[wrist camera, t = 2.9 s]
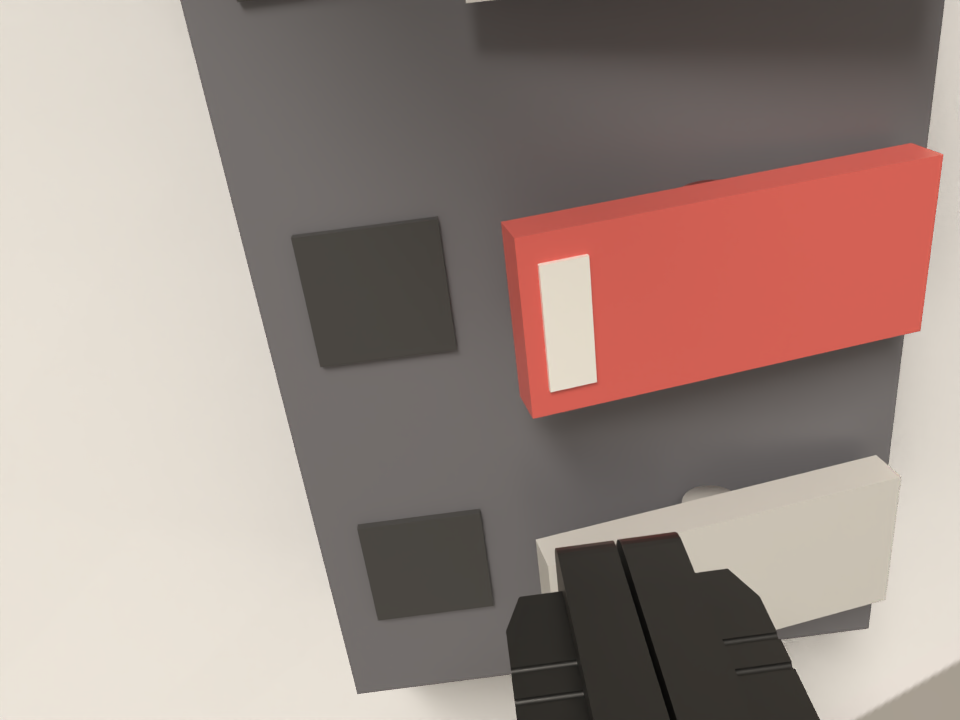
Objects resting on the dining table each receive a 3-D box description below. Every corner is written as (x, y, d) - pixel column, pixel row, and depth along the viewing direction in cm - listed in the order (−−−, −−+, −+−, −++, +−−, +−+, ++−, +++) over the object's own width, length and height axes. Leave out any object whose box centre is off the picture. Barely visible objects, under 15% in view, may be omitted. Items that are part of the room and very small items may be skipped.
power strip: (892, -439, 18) (1014, -520, 14) (815, 539, 30) (871, 633, 26) (146, -341, 18) (76, -397, 14) (365, 597, 30) (357, 699, 26)
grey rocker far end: (859, 440, 24) (904, 479, 22) (847, 559, 25) (887, 602, 24) (527, 521, 22) (549, 569, 21) (540, 640, 24) (562, 692, 22)
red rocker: (890, 135, 20) (946, 155, 18) (874, 301, 22) (923, 332, 20) (492, 211, 18) (515, 240, 17) (511, 380, 20) (534, 421, 19)
